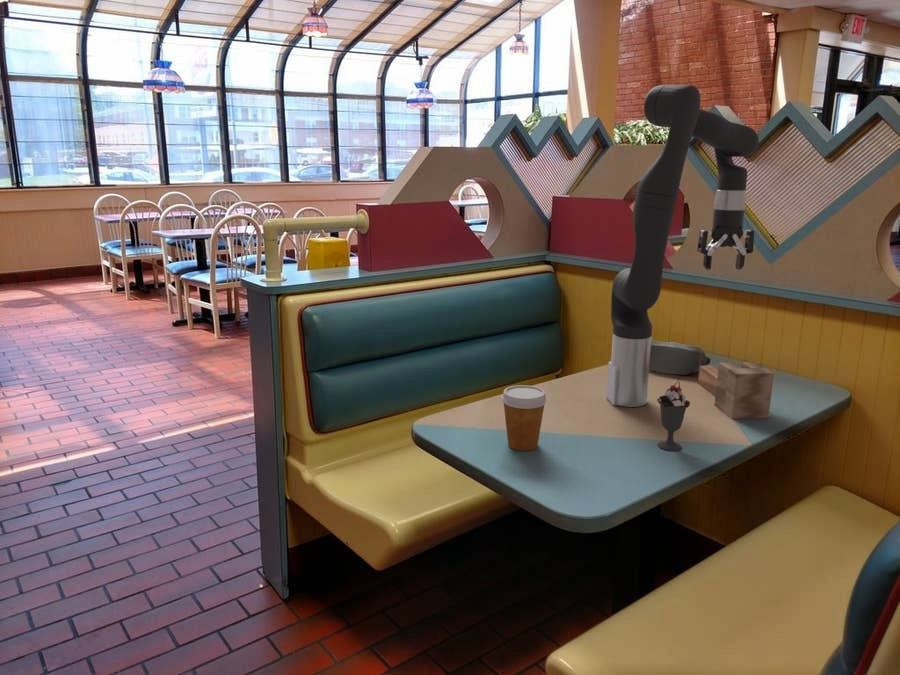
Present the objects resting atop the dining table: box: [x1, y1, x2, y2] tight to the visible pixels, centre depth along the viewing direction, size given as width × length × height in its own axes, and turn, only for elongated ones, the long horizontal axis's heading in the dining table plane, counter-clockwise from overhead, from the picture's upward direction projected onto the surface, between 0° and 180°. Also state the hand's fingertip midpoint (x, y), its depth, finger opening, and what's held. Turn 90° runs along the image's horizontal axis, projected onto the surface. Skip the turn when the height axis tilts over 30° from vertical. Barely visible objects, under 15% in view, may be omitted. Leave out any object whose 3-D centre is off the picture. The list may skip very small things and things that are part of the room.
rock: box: [649, 339, 711, 376], centre depth 203 cm, size 18×11×8 cm, turn 60°
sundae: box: [656, 376, 691, 452], centre depth 149 cm, size 7×7×15 cm
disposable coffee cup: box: [501, 384, 548, 452], centre depth 150 cm, size 10×10×12 cm
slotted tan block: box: [714, 361, 775, 420], centre depth 169 cm, size 9×9×11 cm
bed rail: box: [697, 365, 718, 397], centre depth 181 cm, size 3×20×5 cm, turn 4°
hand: (723, 269), depth 190 cm, fingers open, 8 cm apart
